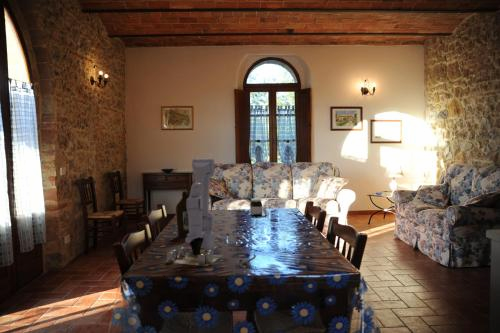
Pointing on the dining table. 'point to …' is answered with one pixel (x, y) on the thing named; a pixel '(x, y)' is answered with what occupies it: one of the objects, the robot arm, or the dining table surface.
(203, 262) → the grey piece
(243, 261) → the pliers
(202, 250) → the nut
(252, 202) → the spread jar
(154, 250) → the dining table surface
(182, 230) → the olive oil
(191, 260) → the board
